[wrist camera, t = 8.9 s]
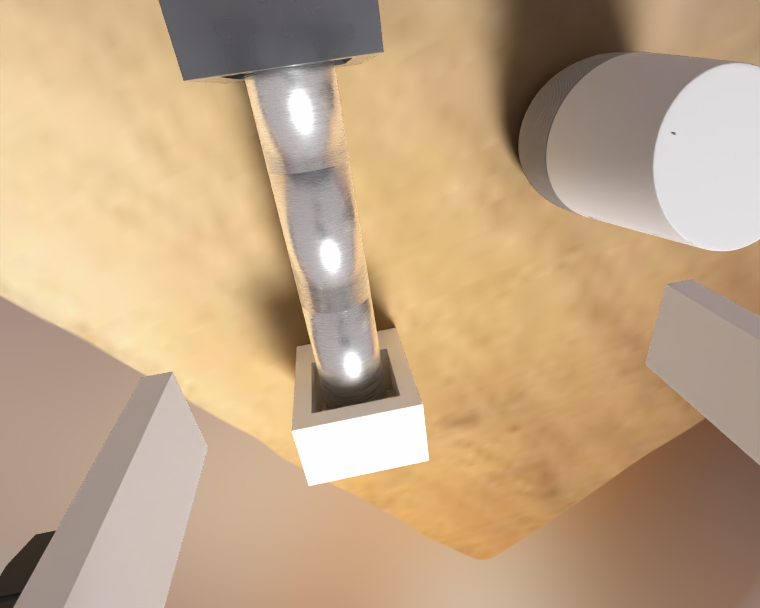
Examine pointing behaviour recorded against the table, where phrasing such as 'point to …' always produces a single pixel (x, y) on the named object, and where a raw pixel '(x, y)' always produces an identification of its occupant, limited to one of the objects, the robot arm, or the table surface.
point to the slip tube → (320, 224)
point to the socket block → (358, 420)
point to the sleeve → (269, 35)
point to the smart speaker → (651, 145)
